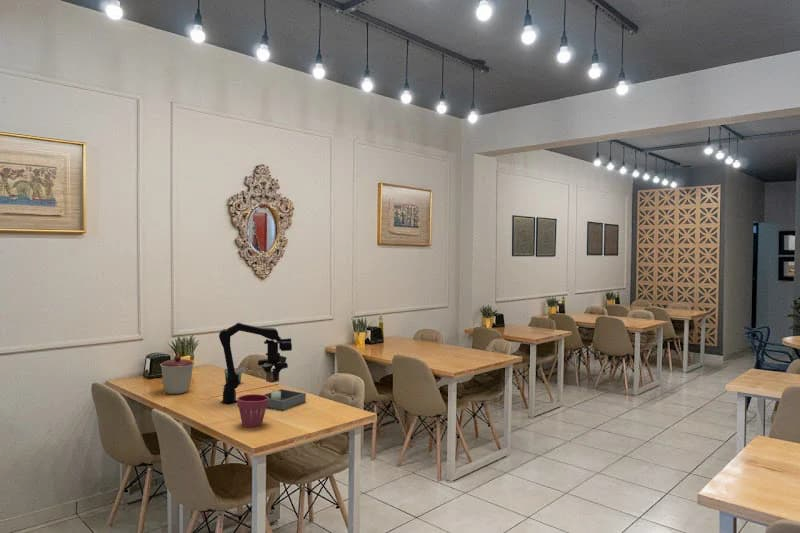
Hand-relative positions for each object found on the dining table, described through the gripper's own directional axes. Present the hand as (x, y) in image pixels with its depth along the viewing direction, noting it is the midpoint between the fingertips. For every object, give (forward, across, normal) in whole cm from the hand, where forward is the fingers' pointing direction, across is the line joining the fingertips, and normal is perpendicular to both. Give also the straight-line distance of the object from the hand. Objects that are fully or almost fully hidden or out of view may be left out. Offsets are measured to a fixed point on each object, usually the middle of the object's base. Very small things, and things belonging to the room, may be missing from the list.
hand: (272, 379), depth 300 cm
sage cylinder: (+11, -11, +7) cm, 17 cm away
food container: (+11, +45, -9) cm, 47 cm away
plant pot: (+12, -27, +35) cm, 45 cm away
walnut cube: (+1, 0, 0) cm, 1 cm away
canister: (+11, +53, +25) cm, 60 cm away
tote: (+12, -10, +2) cm, 15 cm away
